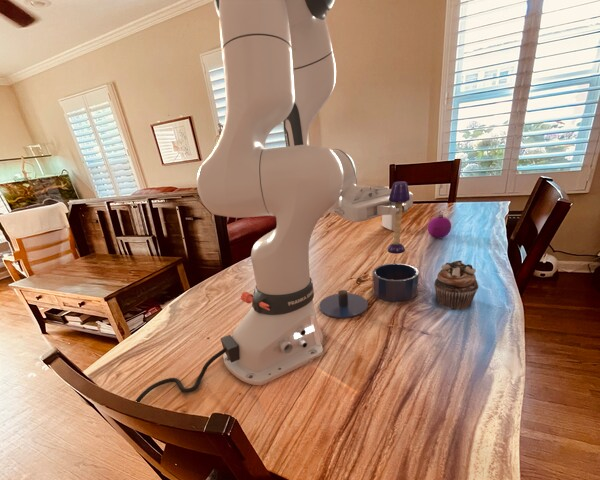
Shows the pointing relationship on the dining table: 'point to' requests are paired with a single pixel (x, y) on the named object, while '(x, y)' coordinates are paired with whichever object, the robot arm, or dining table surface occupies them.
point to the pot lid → (343, 305)
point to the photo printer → (388, 221)
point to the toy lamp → (398, 196)
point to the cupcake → (456, 285)
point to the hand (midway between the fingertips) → (401, 209)
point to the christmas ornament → (439, 226)
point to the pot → (395, 282)
